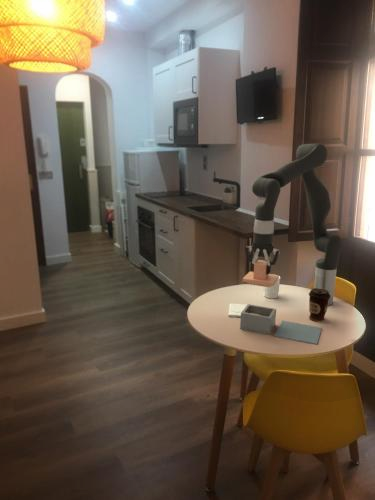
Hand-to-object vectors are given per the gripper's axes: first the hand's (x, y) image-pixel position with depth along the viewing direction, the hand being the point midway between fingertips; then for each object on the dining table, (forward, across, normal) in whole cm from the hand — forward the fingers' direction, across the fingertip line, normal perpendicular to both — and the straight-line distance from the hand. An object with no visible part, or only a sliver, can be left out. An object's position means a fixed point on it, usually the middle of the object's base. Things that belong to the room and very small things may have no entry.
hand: (261, 273), depth 162 cm
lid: (+4, 0, 0) cm, 4 cm away
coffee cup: (+23, -21, -18) cm, 36 cm away
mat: (+23, -16, -2) cm, 28 cm away
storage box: (+23, 0, 0) cm, 23 cm away
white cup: (+23, +3, -36) cm, 43 cm away
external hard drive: (+24, +12, -11) cm, 29 cm away
